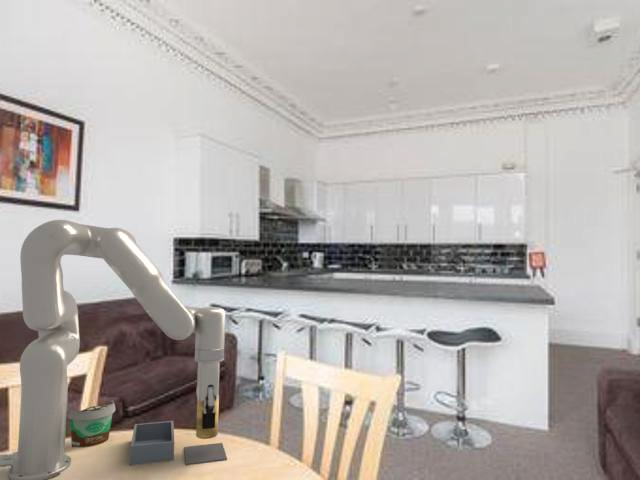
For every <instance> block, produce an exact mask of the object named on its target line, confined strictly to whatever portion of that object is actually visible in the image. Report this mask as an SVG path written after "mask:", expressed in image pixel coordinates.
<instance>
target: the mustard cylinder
mask: <svg viewBox="0 0 640 480" xmlns="http://www.w3.org/2000/svg"><path fill="white" fill-rule="evenodd" d="M206 400H208V398H206ZM196 402H197V403H196V425H195V426H196V427H195V428H196V429H195V430H196V431H195V432H196V433H195V437H196V438H198V439H201V440H207V439H208V440H210V439H213V438H215V437H217V436H218V434H219V431H218V430H219V410H220V409H219V407H220V406H219V404H220V395H219V394H218V399H217V400H216V401H215V428H210V429H202V413H204V401H201V402H199V401H198V398H197V401H196ZM206 405H208V403H206Z"/></svg>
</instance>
